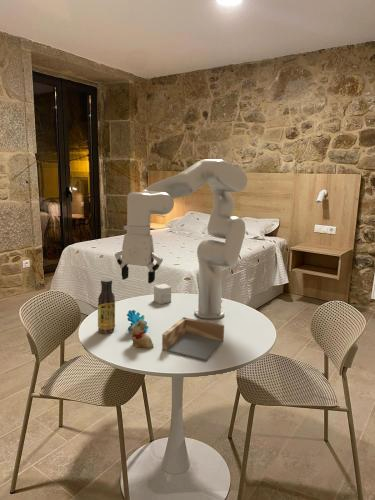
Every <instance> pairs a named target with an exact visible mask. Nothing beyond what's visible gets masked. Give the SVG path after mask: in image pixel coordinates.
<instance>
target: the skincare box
mask: <svg viewBox="0 0 375 500" xmlns="http://www.w3.org/2000/svg"><path fill="white" fill-rule="evenodd" d="M153 300H154V301H153V302H156V303H158V304H159V305H163V304H167V303H172V286H170V285H168V284H167V283H161V284H155V285H153Z"/></svg>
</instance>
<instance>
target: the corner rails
mask: <svg viewBox="0 0 375 500" xmlns="http://www.w3.org/2000/svg"><path fill="white" fill-rule="evenodd" d="M184 333H189V334H193V335H198V336H202V337H207V338H211V339H215V340H220V341H223V342H224V340H223V339H225V338H224V337H225V336H224V335H225V325H222V324H218V323H213V322H209V321H203V320H199V319H194V318H189V317H185V316H183V317H181V318H180V319H179V320H178V321H177V322H176V323H174V324H173V325H172V326H170V327H169V328H168V329H167V330H165V331H164V332H163V333H162V334H161V336H162V338H161V341H162V343H161V351H163V352H166V349H168V348H169V347H170V346H171V345H172V344H173V343H174V342H175V341H177V340H178V339H179V338H180V337H181V336H182V335H183V334H184Z"/></svg>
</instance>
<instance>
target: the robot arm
mask: <svg viewBox="0 0 375 500" xmlns="http://www.w3.org/2000/svg"><path fill="white" fill-rule="evenodd" d="M206 184H208V186H209V188H210V191H211V194H212V197H213V206H212V209H211V214H210V216H209V220H208V224H207V227H206V228H207V233H208V235H209V236H211V237H213V238H216V239H217V238H218V239H223V240H225V241H223V242H222V241H219V240H214V239H205V240H203V241H201V242H199V244H198V245H197V250H196V255H197V256H196V257H197V259H198V272H199V273H198V307H196V308H195V309H194V315H195V316H196V317H197V318H201V319H205V320H217V319H218V320H219V319H221V318H223V317H224V316H225V313H226V312H225V310H224V309H223V308H222V303H223V299H222V289H223V272H222V271H223V270H222V268H228V269H229V268H232V267H234V266H235V265H236V264H237V262H238V260H239V257H240V253H241V250H242V247H243V242H244V240H245V235H246V224H245V221H244V220H243V218H241V217H239V216H234V215H233V213H234V209H235V200H234V198H233V196H232V193H240V192H241V193H242V191H244V190H245V189H246V187H247V185H248V177H247V174H246V172H245V171H243V170H242V169H240V168H239V167H238V166H235V165H233V164H232V163H230V162H228V161H226V160H223V159H217V158H215V159H213V158H211V159H206V158H205V159H201V160H198V161H196V162H195V163H194V164H192V165H190V166H189V167H187V168H186V169H184V170H182V171H181V172H179V173H178V174H175V175H172V176H169V177H167V178H164V179H161V180H159V181H156V182H155V183H151V184H150V185H149V186H147V187H146V188H143V190H140V192H139V191H135V192H129V193H128V194H127V204H126V205H127V207H126V211H127V213H126V214H127V215H126V217H127V219H126V221H127V222H126V223H127V224H126V225H124V226H123V230H125V231H126V233H125V234H124V235H123V241H122V247H121V251H119V252H116V253H114V257H115V260H116V262H117V264H118V265H119V267H120V269H121V278H122V279H121V280H123V281H124V280H126V279H128V278H129V266H128V265H130V266H131V265H132V266H138V267H140V266H141V267H147V269H148V270H149V271H148V272H147V274H148V275H147V283H148V284H152V283H153V282H154V281H155V279H156V270H158V269H159V268H160V267H161V265H162V263H163V260H164V259H163V257H161V256H159V255H158V254H157V253H155V251H154V250H155V246H154V240H153V235H152V234H151V215H159V216H165V215H168V214H169V213H171V212H172V211H173V210H174V206H175V201H174V199H176V198H177V199H178V198H183V197H188V196H190V195H192V194H194V193H195V192H196V191H198V190H199V189H200V188H202V187H203V186H205V185H206ZM154 261H156V262H155V264H154Z"/></svg>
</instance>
